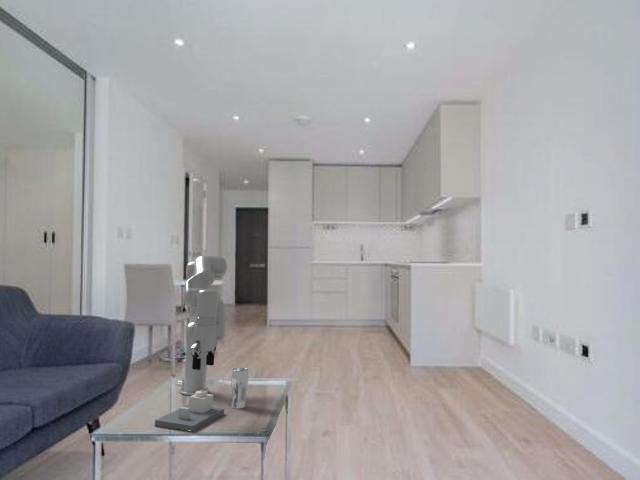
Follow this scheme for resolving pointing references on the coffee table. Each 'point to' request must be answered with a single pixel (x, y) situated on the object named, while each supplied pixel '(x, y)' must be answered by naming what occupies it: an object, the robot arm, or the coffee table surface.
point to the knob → (200, 402)
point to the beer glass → (239, 387)
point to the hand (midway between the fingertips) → (203, 367)
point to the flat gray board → (188, 418)
